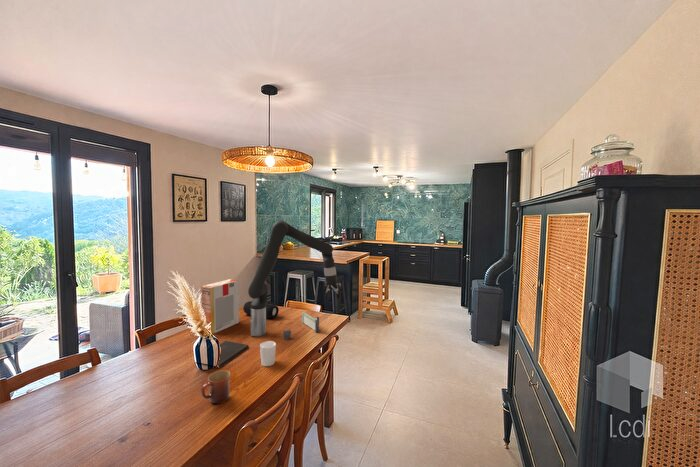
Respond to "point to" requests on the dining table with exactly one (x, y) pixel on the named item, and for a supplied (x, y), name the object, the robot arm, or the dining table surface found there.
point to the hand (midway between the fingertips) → (333, 298)
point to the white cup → (267, 353)
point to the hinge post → (317, 325)
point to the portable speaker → (270, 309)
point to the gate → (308, 320)
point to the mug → (217, 386)
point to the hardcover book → (230, 351)
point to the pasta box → (221, 304)
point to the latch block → (287, 334)
